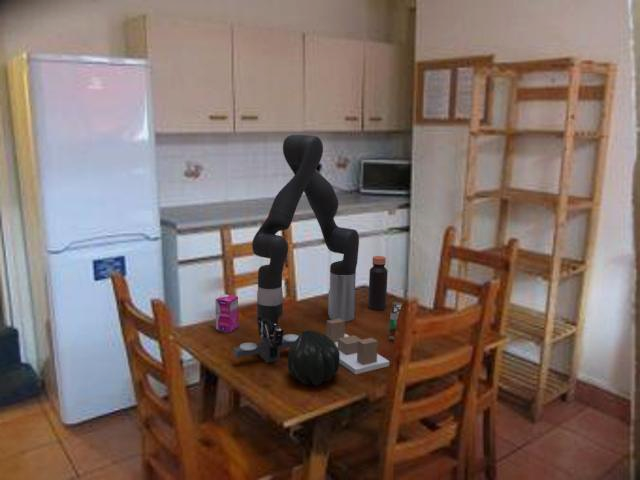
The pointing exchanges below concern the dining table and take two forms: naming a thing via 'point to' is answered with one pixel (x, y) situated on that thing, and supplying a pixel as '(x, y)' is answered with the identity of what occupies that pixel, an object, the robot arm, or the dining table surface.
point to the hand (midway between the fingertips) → (269, 353)
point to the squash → (313, 358)
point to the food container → (394, 319)
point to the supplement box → (226, 313)
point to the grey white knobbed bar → (263, 348)
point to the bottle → (378, 284)
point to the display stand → (355, 349)
